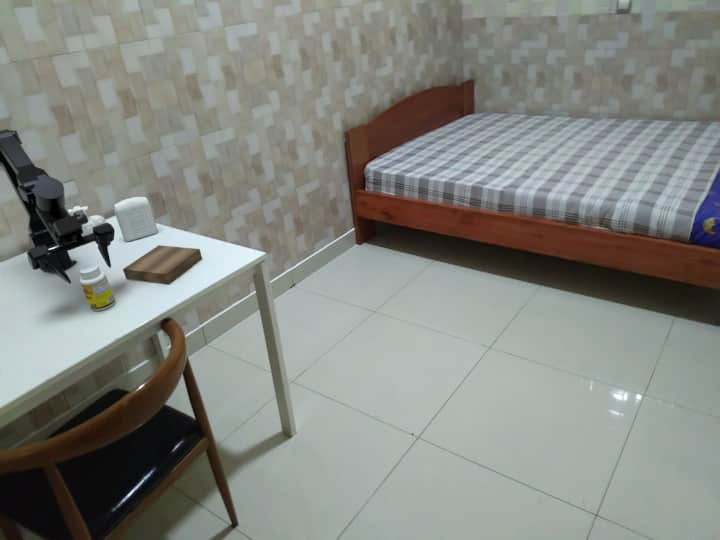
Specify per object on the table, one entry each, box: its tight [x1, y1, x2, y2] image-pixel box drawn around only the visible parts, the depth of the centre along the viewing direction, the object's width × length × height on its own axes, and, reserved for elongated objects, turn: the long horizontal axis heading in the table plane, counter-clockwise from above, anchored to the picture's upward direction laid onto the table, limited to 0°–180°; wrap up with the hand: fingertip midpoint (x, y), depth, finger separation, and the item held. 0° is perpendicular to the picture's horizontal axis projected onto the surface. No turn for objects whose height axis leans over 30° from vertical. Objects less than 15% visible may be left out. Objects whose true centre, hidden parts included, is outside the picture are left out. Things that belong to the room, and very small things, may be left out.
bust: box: [67, 205, 106, 236], centre depth 162 cm, size 12×8×11 cm
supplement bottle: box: [79, 264, 116, 312], centre depth 121 cm, size 6×6×10 cm
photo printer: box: [113, 196, 159, 242], centre depth 156 cm, size 10×4×12 cm, turn 123°
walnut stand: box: [122, 245, 203, 285], centre depth 137 cm, size 14×14×3 cm
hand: (90, 274), depth 120 cm, fingers open, 9 cm apart
